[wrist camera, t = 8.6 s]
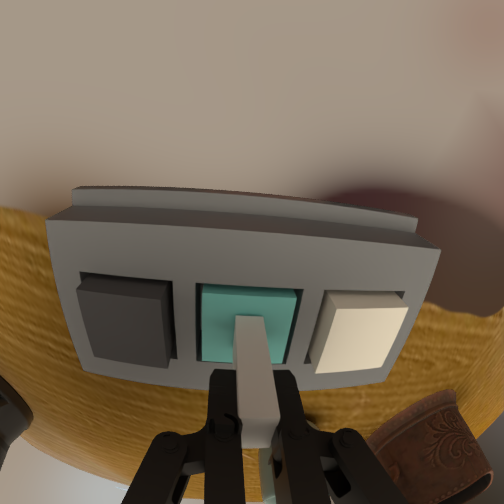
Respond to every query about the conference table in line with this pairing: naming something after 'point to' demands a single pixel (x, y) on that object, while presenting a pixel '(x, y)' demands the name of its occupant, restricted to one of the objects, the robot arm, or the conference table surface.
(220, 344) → the teal key
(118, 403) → the conference table surface
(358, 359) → the ivory key
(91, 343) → the black key
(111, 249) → the console
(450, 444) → the cup holder
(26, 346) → the conference table surface
